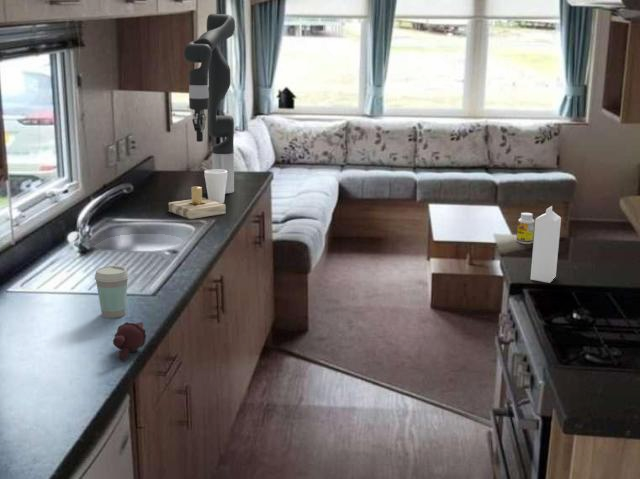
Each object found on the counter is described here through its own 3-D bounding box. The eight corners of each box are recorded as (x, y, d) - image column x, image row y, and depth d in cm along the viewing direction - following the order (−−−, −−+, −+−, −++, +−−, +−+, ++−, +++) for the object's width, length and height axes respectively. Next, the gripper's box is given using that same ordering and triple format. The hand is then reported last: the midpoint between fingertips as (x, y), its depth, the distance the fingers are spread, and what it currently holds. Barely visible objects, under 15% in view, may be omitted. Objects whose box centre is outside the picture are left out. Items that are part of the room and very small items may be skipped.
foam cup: (229, 200, 352) (229, 169, 348) (225, 205, 343) (224, 173, 339) (207, 199, 353) (207, 168, 349) (202, 204, 344) (201, 172, 340)
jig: (168, 211, 331) (168, 202, 330) (203, 206, 341) (203, 197, 340) (190, 219, 319) (189, 210, 318) (225, 213, 329) (225, 204, 328)
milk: (555, 278, 254) (562, 207, 248) (549, 283, 249) (556, 210, 243) (535, 274, 257) (542, 204, 251) (529, 279, 252) (536, 207, 246)
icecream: (123, 312, 201) (97, 340, 187) (151, 307, 199) (127, 335, 185) (132, 338, 203) (107, 367, 189) (160, 333, 201) (137, 363, 187)
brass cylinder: (190, 212, 330) (189, 187, 327) (198, 210, 332) (198, 185, 330) (195, 214, 327) (194, 188, 324) (204, 212, 329) (203, 187, 327)
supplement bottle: (513, 240, 296) (515, 212, 293) (527, 239, 297) (529, 211, 295) (522, 244, 290) (524, 216, 288) (535, 243, 292) (538, 215, 290)
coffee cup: (132, 318, 215) (130, 273, 212) (98, 321, 212) (95, 276, 209) (128, 307, 223) (126, 263, 220) (95, 310, 220) (92, 266, 217)
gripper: (204, 98, 318) (205, 144, 323) (212, 95, 331) (212, 139, 335) (185, 98, 319) (186, 143, 323) (193, 94, 332) (194, 138, 336)
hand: (199, 141), depth 329 cm, fingers closed
